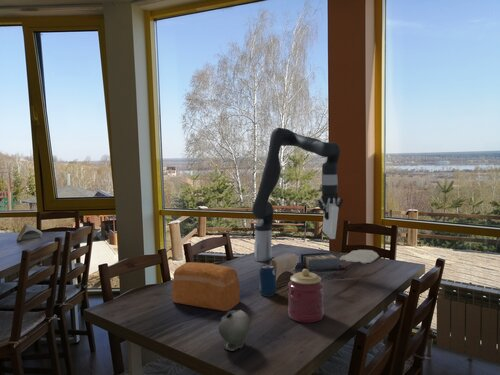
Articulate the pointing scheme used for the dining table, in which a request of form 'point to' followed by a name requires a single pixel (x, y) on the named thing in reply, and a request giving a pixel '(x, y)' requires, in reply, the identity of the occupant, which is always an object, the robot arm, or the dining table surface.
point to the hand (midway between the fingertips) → (329, 219)
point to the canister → (305, 297)
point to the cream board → (331, 221)
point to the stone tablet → (360, 256)
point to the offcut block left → (311, 259)
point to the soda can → (267, 280)
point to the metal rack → (320, 261)
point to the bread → (206, 286)
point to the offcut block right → (327, 257)
